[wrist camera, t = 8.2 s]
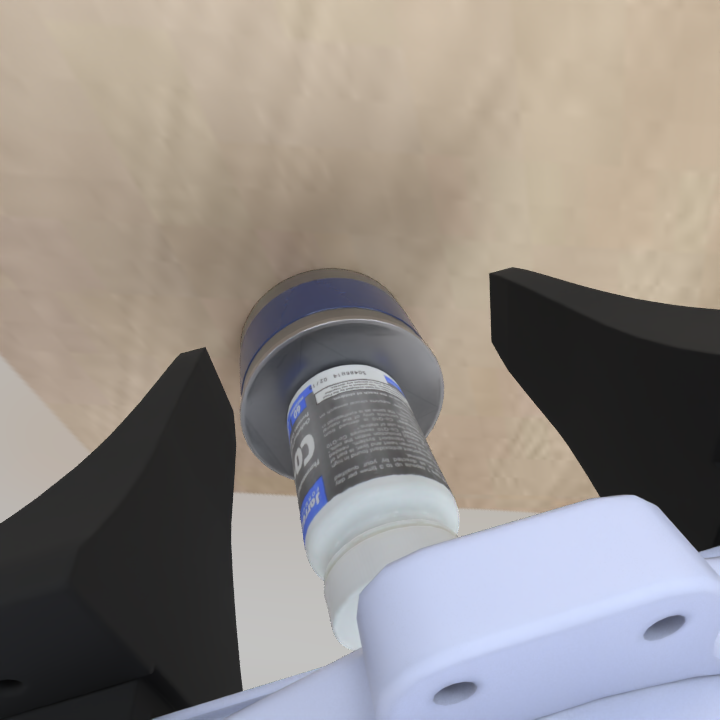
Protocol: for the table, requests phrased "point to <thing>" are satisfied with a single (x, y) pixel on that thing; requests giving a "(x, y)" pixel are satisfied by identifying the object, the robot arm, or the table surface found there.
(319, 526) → the pill bottle
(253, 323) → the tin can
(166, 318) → the table surface
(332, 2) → the table surface
